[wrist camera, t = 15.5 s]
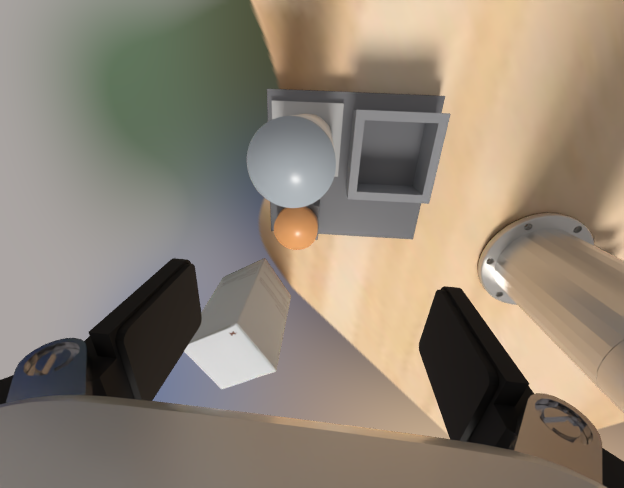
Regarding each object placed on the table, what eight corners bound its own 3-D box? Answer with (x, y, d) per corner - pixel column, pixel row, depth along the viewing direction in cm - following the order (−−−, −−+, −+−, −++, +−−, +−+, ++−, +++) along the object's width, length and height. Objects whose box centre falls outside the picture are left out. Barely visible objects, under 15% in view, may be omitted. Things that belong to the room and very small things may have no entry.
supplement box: (221, 276, 38) (176, 346, 27) (266, 256, 36) (237, 322, 25) (250, 313, 41) (219, 391, 29) (293, 297, 39) (278, 373, 28)
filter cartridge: (334, 114, 26) (339, 118, 14) (330, 166, 29) (332, 210, 16) (283, 112, 27) (243, 113, 14) (283, 164, 29) (249, 205, 16)
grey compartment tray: (439, 96, 27) (461, 94, 22) (409, 234, 34) (421, 253, 29) (270, 89, 28) (258, 85, 23) (273, 226, 34) (265, 243, 30)
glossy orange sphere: (320, 197, 30) (318, 210, 26) (318, 233, 32) (316, 250, 28) (280, 195, 30) (273, 207, 26) (281, 231, 32) (274, 248, 28)
